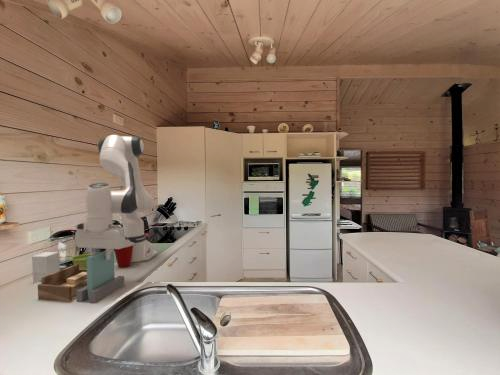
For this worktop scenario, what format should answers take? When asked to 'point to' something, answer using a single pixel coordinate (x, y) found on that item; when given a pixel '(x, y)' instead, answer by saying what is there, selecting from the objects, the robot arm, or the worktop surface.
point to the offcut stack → (77, 282)
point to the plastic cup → (124, 255)
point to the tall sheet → (99, 270)
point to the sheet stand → (99, 291)
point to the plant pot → (81, 260)
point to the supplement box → (45, 265)
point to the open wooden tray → (58, 285)
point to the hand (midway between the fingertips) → (101, 259)
